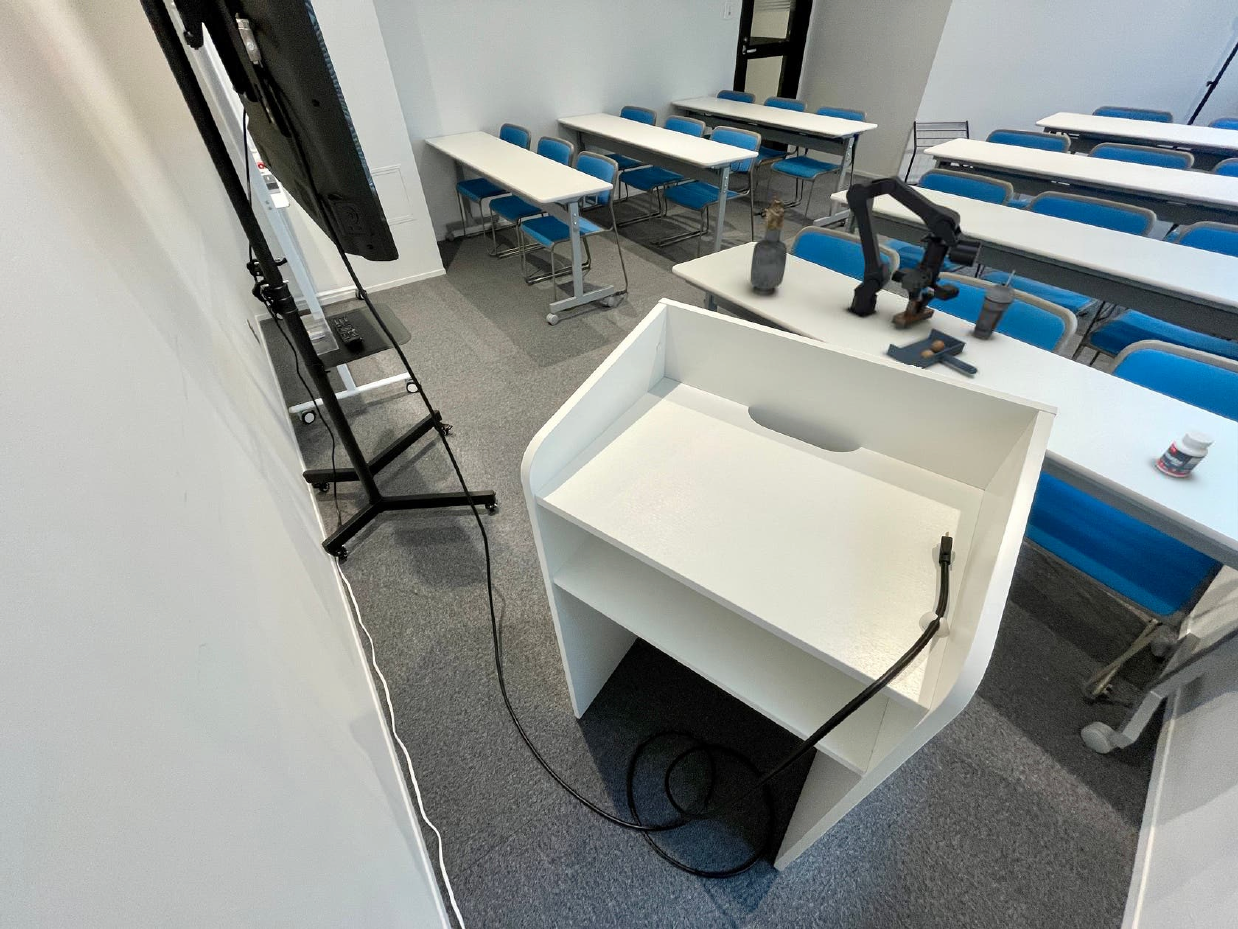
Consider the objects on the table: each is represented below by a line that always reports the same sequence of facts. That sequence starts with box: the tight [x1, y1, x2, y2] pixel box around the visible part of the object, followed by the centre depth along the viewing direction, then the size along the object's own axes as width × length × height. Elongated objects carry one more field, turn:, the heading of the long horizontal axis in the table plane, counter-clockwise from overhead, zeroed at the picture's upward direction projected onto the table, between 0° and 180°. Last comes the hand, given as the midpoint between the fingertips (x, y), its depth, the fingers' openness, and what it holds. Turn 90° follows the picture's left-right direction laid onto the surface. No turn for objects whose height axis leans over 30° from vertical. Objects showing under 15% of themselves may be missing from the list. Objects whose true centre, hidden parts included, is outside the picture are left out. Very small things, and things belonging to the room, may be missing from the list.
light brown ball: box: [921, 350, 934, 359], centre depth 145 cm, size 3×3×3 cm
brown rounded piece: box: [931, 340, 945, 352], centre depth 149 cm, size 3×3×3 cm
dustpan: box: [886, 327, 978, 375], centre depth 145 cm, size 20×18×3 cm
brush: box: [890, 295, 936, 329], centre depth 160 cm, size 4×13×7 cm, turn 119°
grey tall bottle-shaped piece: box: [750, 195, 790, 296], centre depth 177 cm, size 11×19×30 cm, turn 169°
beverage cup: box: [972, 269, 1017, 340], centre depth 150 cm, size 7×7×20 cm
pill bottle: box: [1155, 430, 1215, 478], centre depth 108 cm, size 5×5×9 cm
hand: (914, 310), depth 161 cm, fingers closed on brush, 2 cm apart
